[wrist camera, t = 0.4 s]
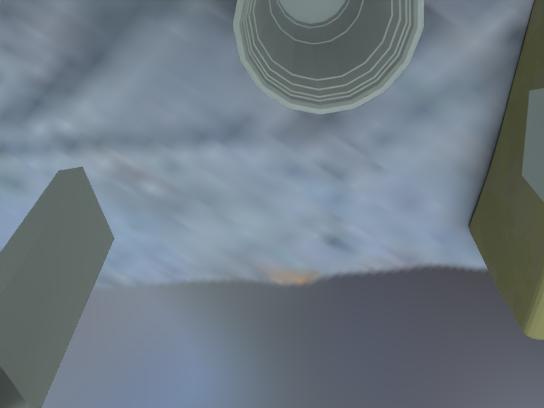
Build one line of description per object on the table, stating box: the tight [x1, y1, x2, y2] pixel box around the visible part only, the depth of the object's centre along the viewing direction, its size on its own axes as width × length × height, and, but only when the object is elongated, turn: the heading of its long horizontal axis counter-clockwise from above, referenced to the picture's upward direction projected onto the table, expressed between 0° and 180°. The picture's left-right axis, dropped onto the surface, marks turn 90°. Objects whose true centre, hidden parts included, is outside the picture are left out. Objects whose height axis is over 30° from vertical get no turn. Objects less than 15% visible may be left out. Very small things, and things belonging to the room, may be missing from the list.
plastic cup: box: [233, 0, 424, 114], centre depth 33 cm, size 11×11×12 cm
